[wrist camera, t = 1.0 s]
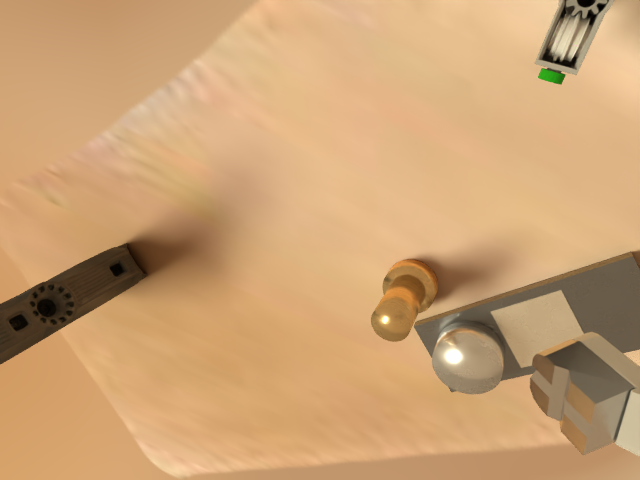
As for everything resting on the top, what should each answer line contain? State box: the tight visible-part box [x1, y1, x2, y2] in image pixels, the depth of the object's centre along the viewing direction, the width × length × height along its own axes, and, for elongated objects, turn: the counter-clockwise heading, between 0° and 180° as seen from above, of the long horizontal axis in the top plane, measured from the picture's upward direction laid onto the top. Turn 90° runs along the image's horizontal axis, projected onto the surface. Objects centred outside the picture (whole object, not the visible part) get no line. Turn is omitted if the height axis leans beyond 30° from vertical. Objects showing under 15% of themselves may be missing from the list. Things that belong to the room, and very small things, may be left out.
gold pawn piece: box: [371, 259, 438, 341], centre depth 48 cm, size 6×6×9 cm
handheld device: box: [0, 243, 147, 364], centre depth 60 cm, size 6×15×25 cm, turn 124°
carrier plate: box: [414, 252, 640, 394], centre depth 46 cm, size 22×9×4 cm, turn 124°
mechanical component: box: [535, 0, 614, 84], centre depth 33 cm, size 3×10×10 cm, turn 167°
